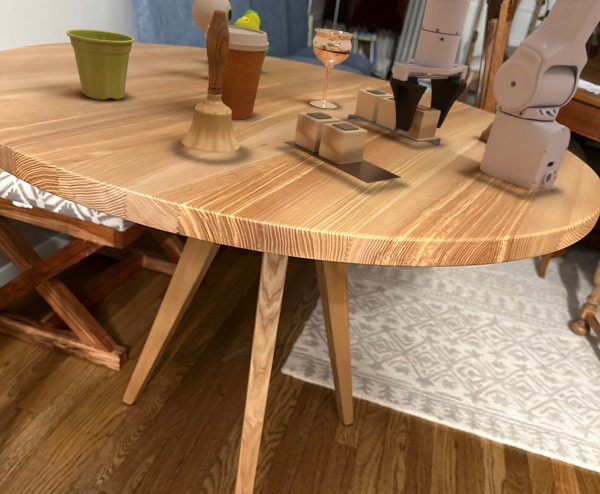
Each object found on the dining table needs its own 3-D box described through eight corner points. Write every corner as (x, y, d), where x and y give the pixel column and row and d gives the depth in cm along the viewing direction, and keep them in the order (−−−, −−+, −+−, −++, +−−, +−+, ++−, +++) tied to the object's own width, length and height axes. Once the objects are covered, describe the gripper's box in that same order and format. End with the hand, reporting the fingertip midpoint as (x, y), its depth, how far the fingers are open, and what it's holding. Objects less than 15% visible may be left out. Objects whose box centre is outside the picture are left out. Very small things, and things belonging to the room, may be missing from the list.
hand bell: (248, 146, 75) (259, 13, 67) (237, 166, 68) (248, 19, 60) (186, 137, 75) (190, 2, 67) (169, 155, 68) (170, 7, 60)
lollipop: (221, 84, 105) (226, -6, 97) (184, 78, 106) (186, -13, 98) (232, 78, 111) (238, -8, 103) (198, 72, 112) (200, -14, 104)
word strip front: (400, 184, 70) (409, 143, 67) (365, 191, 66) (374, 148, 64) (316, 145, 80) (321, 108, 77) (282, 148, 76) (287, 110, 73)
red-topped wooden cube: (434, 137, 88) (441, 110, 86) (417, 139, 86) (424, 111, 83) (415, 129, 90) (421, 103, 88) (398, 131, 88) (404, 104, 86)
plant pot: (87, 85, 92) (83, 26, 87) (144, 94, 91) (143, 36, 87) (59, 97, 84) (54, 33, 79) (122, 107, 83) (120, 43, 79)
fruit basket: (205, 63, 122) (208, 4, 116) (235, 61, 128) (239, 6, 122) (243, 75, 116) (248, 13, 110) (272, 72, 122) (278, 15, 116)
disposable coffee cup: (273, 121, 88) (281, 37, 81) (216, 122, 83) (221, 33, 76) (244, 105, 94) (250, 26, 88) (191, 105, 89) (193, 22, 83)
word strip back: (439, 144, 89) (448, 111, 86) (414, 148, 85) (423, 113, 82) (372, 118, 98) (378, 87, 95) (347, 120, 94) (352, 88, 92)
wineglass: (303, 98, 105) (313, 27, 98) (339, 102, 105) (351, 32, 99) (305, 106, 99) (315, 31, 93) (343, 111, 100) (356, 37, 93)
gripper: (450, 28, 87) (428, 118, 94) (386, 24, 78) (367, 123, 86) (488, 37, 83) (462, 130, 90) (425, 34, 74) (402, 137, 81)
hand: (418, 128), depth 87 cm, fingers open, 7 cm apart
